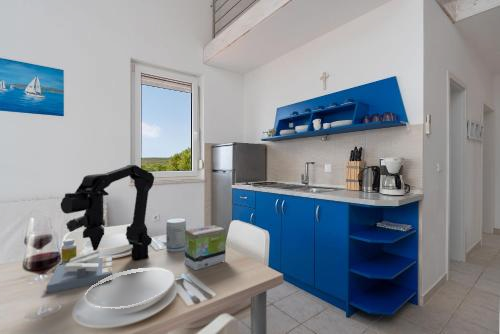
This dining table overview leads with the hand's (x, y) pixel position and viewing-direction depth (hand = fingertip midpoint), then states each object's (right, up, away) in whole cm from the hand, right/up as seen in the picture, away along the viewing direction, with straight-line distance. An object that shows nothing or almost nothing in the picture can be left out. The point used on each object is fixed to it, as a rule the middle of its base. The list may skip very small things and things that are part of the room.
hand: (95, 250), depth 92 cm
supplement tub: (+21, -11, +32) cm, 40 cm away
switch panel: (-6, -11, +3) cm, 13 cm away
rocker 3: (-3, -6, -2) cm, 7 cm away
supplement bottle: (-22, -11, +17) cm, 30 cm away
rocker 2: (-6, -5, +3) cm, 9 cm away
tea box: (+39, -11, +15) cm, 43 cm away
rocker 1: (-9, -5, +8) cm, 13 cm away
